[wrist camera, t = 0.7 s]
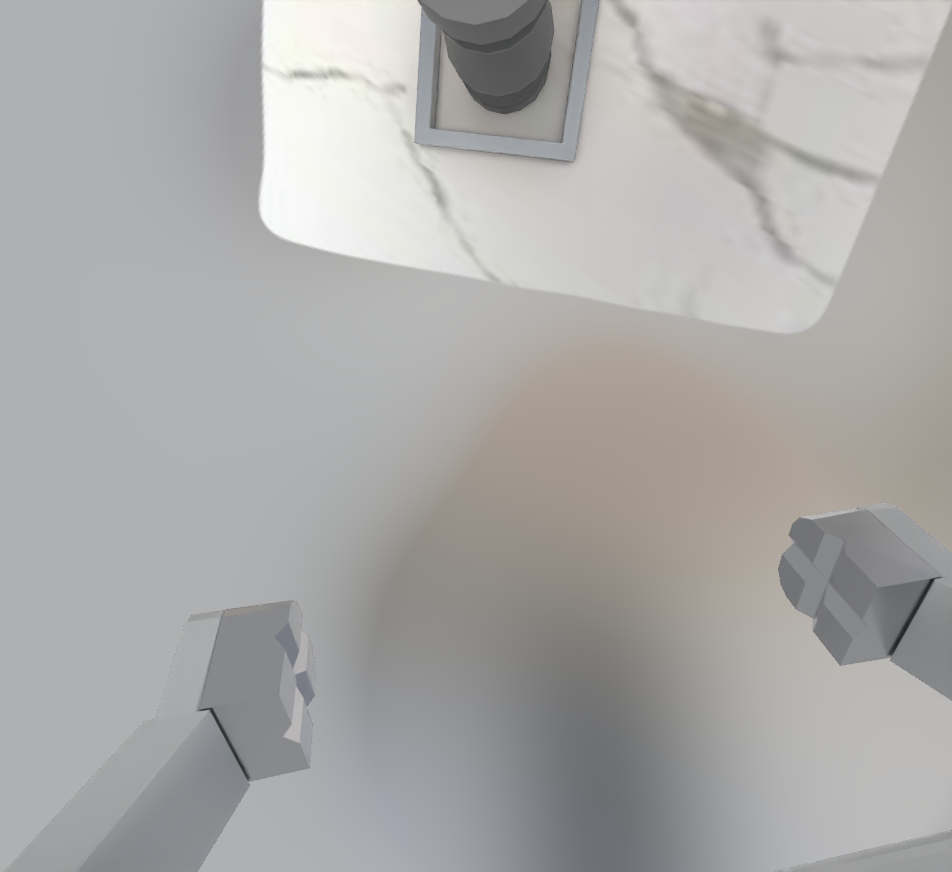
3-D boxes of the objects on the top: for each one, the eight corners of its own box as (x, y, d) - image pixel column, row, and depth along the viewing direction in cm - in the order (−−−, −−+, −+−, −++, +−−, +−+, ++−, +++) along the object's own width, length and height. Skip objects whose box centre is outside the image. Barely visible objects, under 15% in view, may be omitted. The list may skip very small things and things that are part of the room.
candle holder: (448, 91, 42) (354, -16, 20) (482, -6, 40) (419, -257, 17) (526, 128, 43) (523, 67, 20) (564, 35, 40) (610, -157, 18)
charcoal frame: (431, -44, 39) (425, -58, 37) (601, -27, 39) (605, -40, 37) (420, 144, 44) (414, 142, 42) (572, 161, 44) (574, 160, 41)
